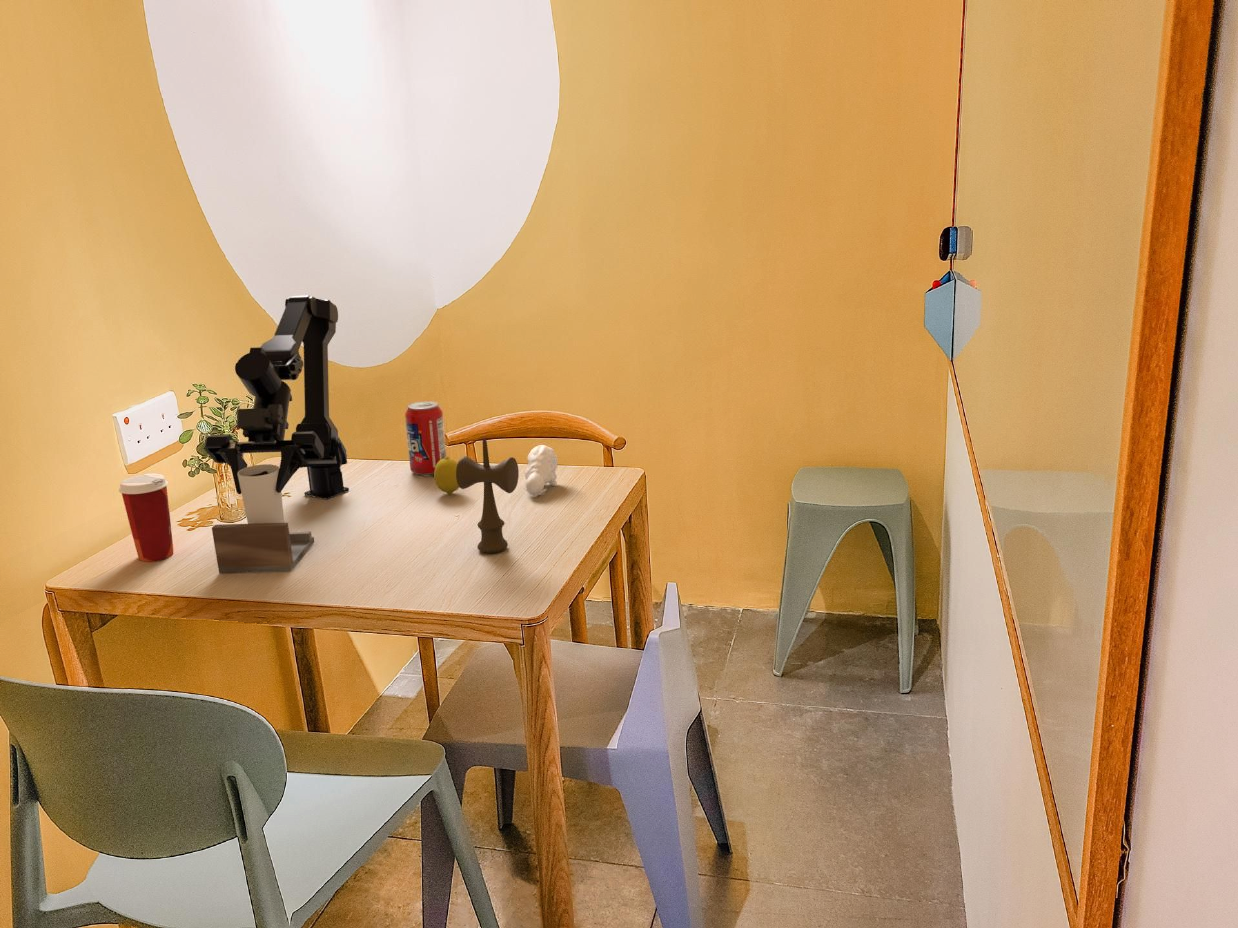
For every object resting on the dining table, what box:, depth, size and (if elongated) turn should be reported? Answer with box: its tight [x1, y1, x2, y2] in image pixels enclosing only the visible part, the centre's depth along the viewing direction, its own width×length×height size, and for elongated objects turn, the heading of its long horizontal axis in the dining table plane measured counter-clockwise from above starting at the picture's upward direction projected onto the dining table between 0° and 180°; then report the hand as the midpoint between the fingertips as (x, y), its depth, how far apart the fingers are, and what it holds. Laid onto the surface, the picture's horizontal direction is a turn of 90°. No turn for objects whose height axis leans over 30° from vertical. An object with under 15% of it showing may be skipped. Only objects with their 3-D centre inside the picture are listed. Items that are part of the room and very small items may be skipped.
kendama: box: [456, 437, 520, 554], centre depth 169 cm, size 6×10×20 cm, turn 74°
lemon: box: [433, 455, 459, 496], centre depth 200 cm, size 6×6×8 cm
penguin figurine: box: [523, 444, 559, 498], centre depth 200 cm, size 6×8×12 cm
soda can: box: [404, 400, 447, 477], centre depth 214 cm, size 8×8×15 cm
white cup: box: [238, 463, 285, 524], centre depth 168 cm, size 7×7×10 cm
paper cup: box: [118, 473, 174, 563], centre depth 172 cm, size 8×8×14 cm
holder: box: [211, 522, 315, 574], centre depth 171 cm, size 13×12×8 cm
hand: (258, 492), depth 167 cm, fingers closed on white cup, 6 cm apart
